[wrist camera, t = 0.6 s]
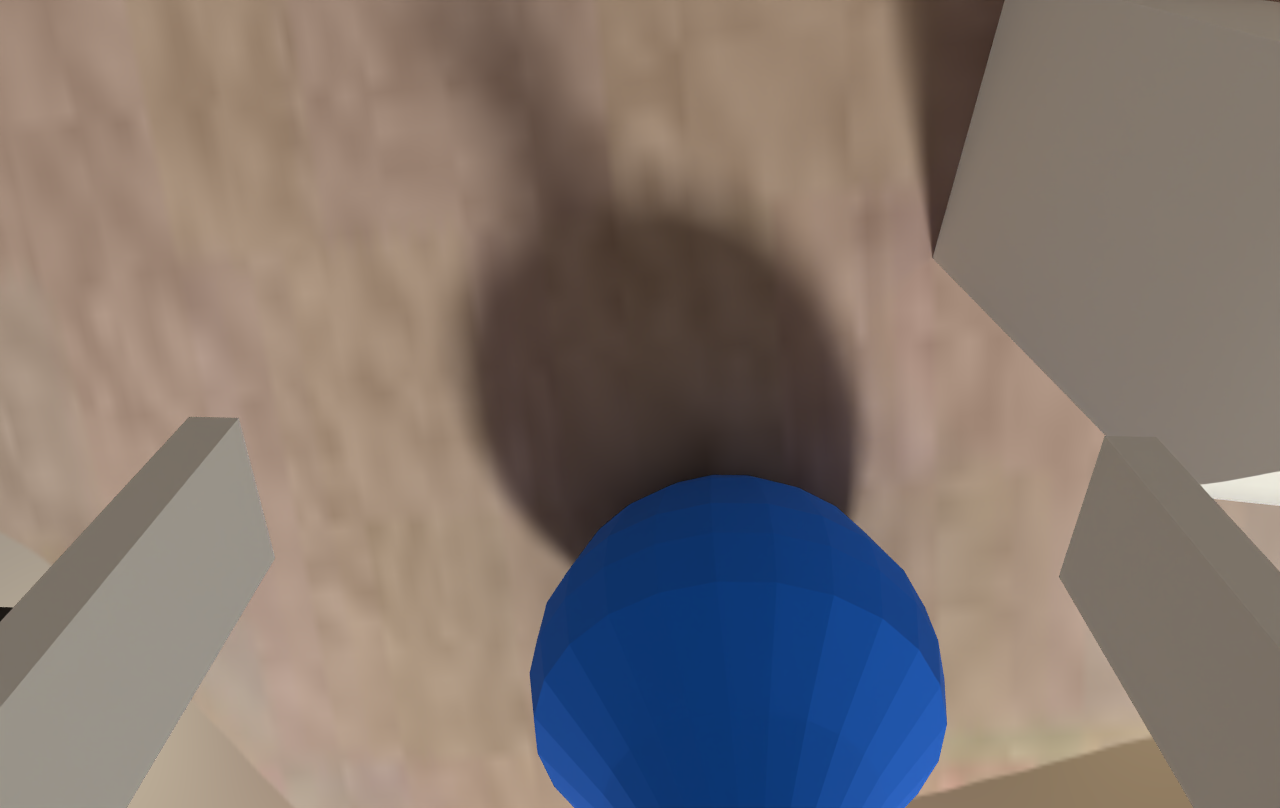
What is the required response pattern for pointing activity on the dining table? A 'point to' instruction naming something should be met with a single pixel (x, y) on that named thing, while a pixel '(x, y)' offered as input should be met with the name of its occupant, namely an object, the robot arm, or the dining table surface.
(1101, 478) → the robot arm
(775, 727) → the vase
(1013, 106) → the milk
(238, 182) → the dining table surface
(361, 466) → the dining table surface
